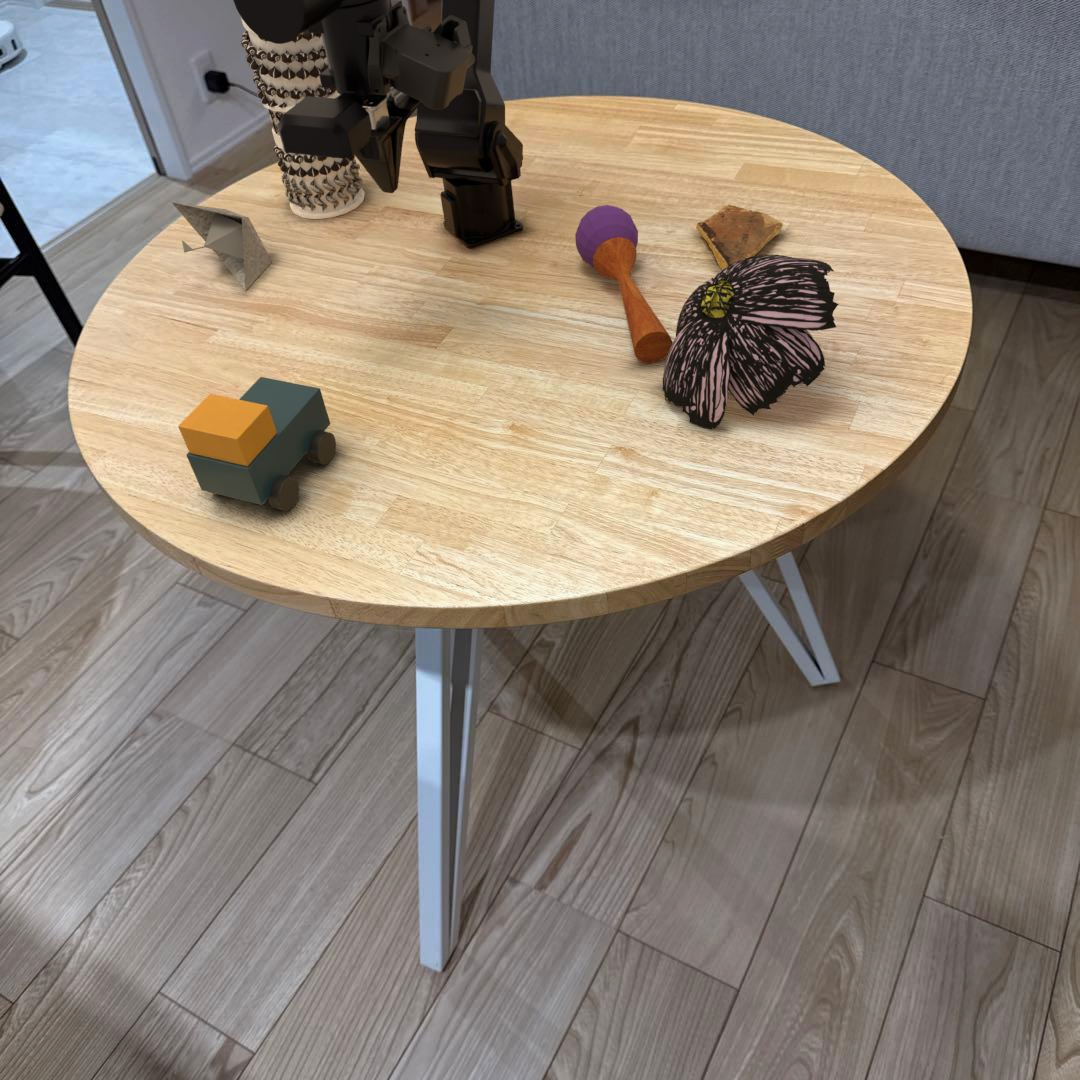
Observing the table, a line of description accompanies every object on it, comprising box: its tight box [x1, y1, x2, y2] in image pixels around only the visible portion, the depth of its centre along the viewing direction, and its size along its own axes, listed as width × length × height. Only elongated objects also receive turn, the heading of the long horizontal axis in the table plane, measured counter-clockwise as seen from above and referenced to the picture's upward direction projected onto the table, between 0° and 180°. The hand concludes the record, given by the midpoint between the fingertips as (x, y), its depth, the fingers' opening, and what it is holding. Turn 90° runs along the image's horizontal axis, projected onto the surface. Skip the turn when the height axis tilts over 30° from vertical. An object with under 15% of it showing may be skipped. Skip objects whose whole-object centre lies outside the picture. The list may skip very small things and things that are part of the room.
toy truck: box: [177, 376, 337, 512], centre depth 77 cm, size 8×7×10 cm
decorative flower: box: [662, 254, 839, 431], centre depth 80 cm, size 14×12×15 cm
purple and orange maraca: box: [574, 204, 673, 364], centre depth 91 cm, size 6×6×20 cm
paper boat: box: [171, 201, 272, 292], centre depth 102 cm, size 12×6×9 cm
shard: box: [695, 204, 784, 271], centre depth 97 cm, size 11×8×2 cm
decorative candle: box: [240, 17, 366, 220], centre depth 104 cm, size 9×9×25 cm
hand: (390, 191), depth 86 cm, fingers closed
